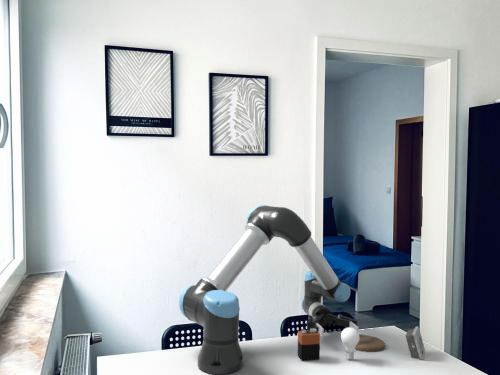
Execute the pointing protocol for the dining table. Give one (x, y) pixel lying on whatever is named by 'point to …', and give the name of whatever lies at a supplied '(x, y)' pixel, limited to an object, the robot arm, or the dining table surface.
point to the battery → (308, 345)
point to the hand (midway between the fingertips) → (340, 331)
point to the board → (370, 344)
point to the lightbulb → (350, 341)
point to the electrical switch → (415, 343)
